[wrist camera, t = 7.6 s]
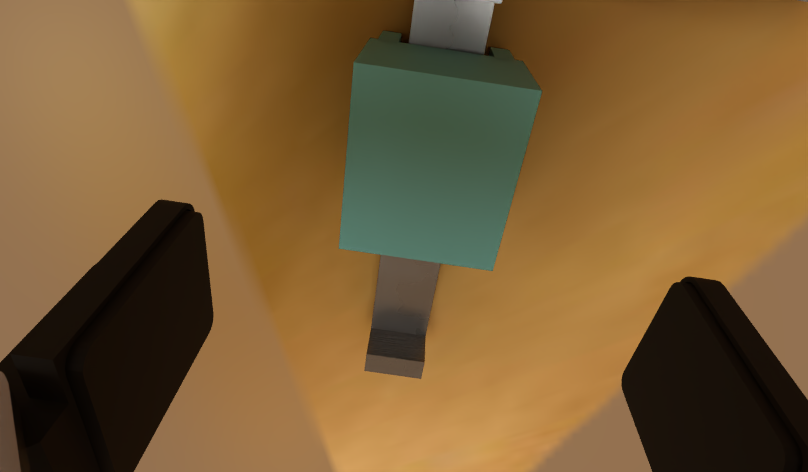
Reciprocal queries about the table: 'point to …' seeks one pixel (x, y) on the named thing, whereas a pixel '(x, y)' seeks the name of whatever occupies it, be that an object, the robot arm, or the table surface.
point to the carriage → (434, 151)
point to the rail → (407, 278)
